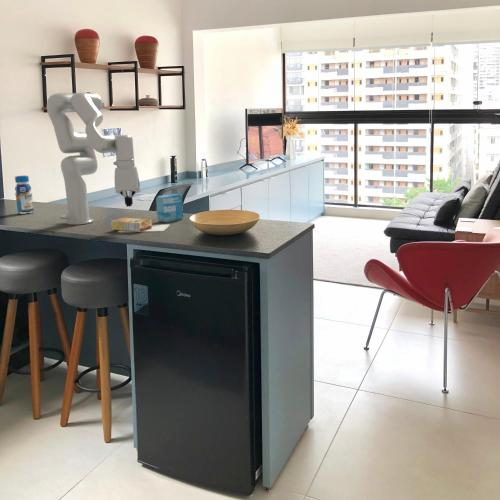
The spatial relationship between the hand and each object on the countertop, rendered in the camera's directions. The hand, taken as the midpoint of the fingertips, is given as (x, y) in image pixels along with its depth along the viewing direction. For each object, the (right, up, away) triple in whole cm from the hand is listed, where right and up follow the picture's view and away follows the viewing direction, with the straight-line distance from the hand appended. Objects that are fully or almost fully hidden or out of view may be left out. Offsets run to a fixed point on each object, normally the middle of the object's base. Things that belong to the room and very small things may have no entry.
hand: (129, 206), depth 260 cm
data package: (+16, -6, +20) cm, 26 cm away
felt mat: (+6, -10, +1) cm, 12 cm away
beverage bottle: (-67, 0, +58) cm, 89 cm away
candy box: (-6, -8, +2) cm, 10 cm away
